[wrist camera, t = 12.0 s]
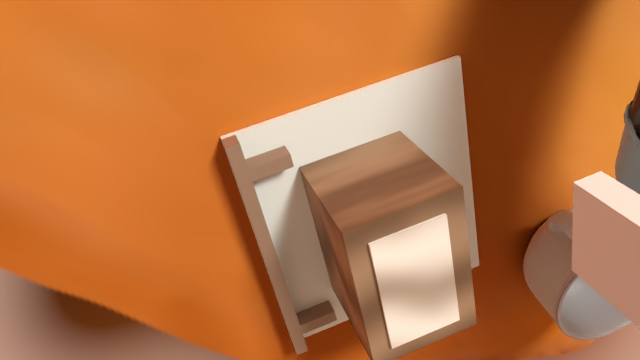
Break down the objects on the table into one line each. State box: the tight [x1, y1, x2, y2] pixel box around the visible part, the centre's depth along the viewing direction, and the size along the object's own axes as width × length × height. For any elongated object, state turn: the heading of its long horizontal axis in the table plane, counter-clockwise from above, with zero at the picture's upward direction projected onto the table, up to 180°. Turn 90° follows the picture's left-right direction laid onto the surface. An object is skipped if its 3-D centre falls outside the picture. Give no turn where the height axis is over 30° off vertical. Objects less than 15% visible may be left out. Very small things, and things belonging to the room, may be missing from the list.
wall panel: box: [220, 55, 479, 355], centre depth 45 cm, size 18×20×2 cm
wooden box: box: [299, 131, 477, 360], centre depth 41 cm, size 12×8×9 cm, turn 13°
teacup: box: [523, 208, 632, 340], centre depth 50 cm, size 14×11×8 cm
